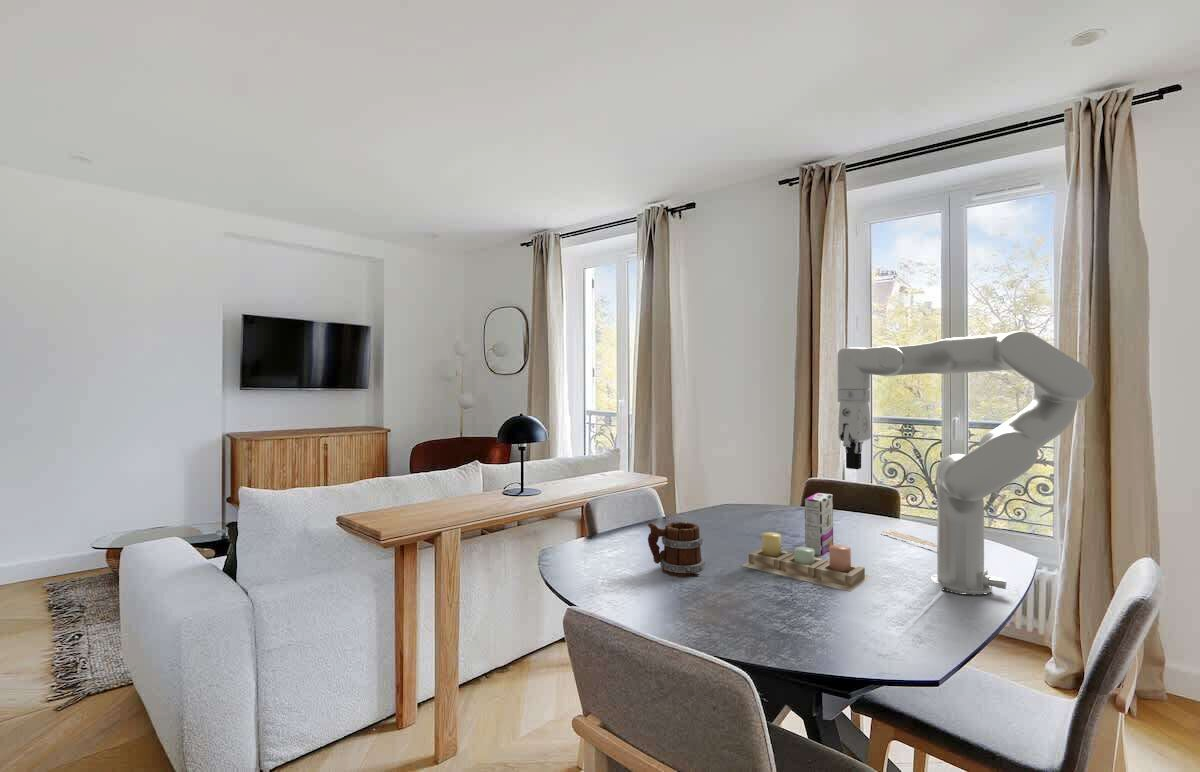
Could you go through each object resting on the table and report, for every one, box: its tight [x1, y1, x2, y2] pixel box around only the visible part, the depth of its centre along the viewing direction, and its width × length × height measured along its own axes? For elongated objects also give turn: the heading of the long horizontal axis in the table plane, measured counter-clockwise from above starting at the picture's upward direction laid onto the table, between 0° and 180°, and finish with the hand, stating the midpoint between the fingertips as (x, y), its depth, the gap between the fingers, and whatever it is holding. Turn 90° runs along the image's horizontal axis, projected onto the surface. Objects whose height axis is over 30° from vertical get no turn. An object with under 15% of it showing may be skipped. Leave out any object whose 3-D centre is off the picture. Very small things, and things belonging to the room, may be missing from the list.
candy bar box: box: [804, 492, 834, 556], centre depth 169 cm, size 11×5×16 cm, turn 143°
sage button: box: [793, 546, 815, 565], centre depth 150 cm, size 5×5×5 cm
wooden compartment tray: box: [741, 547, 872, 592], centre depth 150 cm, size 28×14×4 cm, turn 47°
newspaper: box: [881, 529, 937, 547], centre depth 179 cm, size 24×7×2 cm, turn 17°
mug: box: [647, 521, 706, 578], centre depth 154 cm, size 12×14×15 cm
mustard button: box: [761, 531, 782, 556], centre depth 156 cm, size 5×5×5 cm
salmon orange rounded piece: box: [828, 544, 852, 571], centre depth 144 cm, size 5×5×5 cm
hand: (853, 468), depth 150 cm, fingers closed
